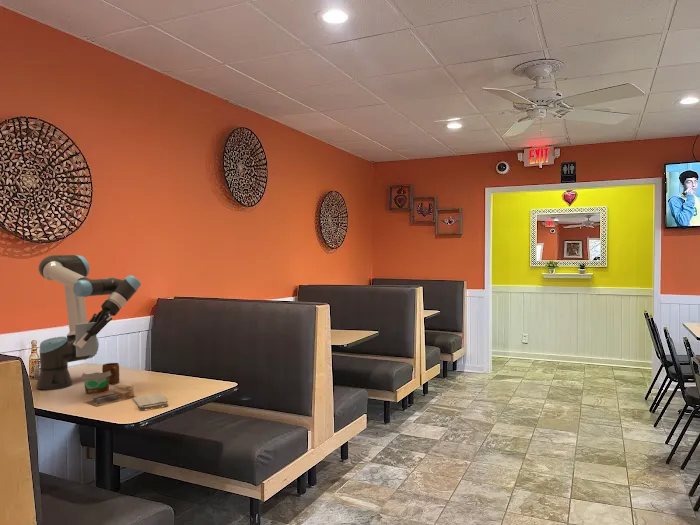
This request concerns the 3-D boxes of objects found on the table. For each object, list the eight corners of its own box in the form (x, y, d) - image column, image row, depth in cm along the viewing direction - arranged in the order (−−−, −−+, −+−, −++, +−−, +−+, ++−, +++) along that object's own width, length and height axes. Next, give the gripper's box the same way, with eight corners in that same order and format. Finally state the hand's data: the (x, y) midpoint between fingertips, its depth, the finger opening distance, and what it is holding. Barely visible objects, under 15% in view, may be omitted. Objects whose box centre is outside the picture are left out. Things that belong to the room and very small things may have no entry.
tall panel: (94, 353, 234) (93, 322, 233) (96, 354, 232) (95, 322, 232) (76, 356, 227) (75, 324, 227) (78, 357, 226) (77, 324, 226)
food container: (79, 397, 234) (78, 375, 233) (82, 394, 239) (82, 372, 239) (109, 395, 237) (108, 373, 237) (111, 391, 243) (111, 370, 243)
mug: (124, 384, 257) (123, 365, 257) (108, 387, 252) (107, 367, 252) (116, 380, 266) (116, 362, 266) (100, 383, 261) (100, 364, 261)
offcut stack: (124, 394, 234) (124, 383, 234) (134, 396, 229) (133, 385, 229) (113, 396, 230) (112, 385, 230) (122, 399, 225) (122, 388, 225)
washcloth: (140, 412, 210) (139, 405, 210) (131, 402, 225) (130, 395, 225) (170, 407, 216) (170, 400, 216) (159, 398, 231) (159, 391, 231)
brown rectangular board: (123, 395, 236) (123, 388, 236) (137, 399, 228) (137, 392, 228) (82, 404, 222) (82, 397, 222) (96, 409, 214) (96, 401, 214)
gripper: (127, 310, 237) (91, 353, 224) (111, 309, 246) (75, 349, 233) (116, 299, 233) (78, 342, 220) (99, 298, 242) (62, 339, 229)
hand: (77, 346), depth 227 cm, fingers closed on tall panel, 2 cm apart
